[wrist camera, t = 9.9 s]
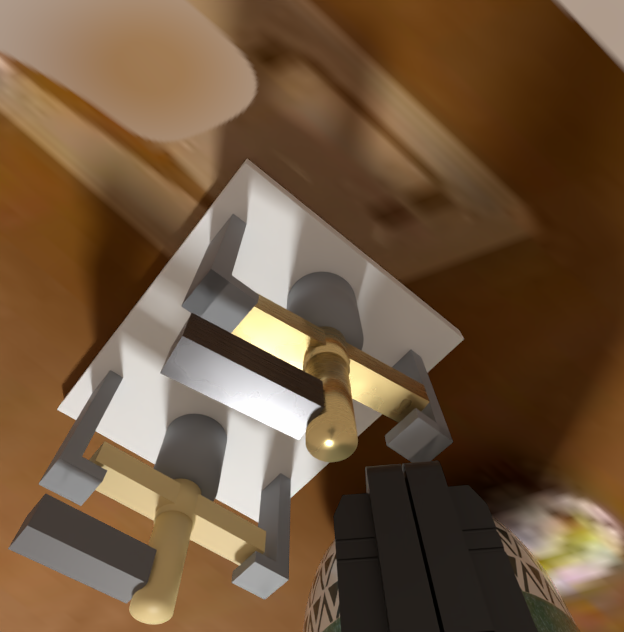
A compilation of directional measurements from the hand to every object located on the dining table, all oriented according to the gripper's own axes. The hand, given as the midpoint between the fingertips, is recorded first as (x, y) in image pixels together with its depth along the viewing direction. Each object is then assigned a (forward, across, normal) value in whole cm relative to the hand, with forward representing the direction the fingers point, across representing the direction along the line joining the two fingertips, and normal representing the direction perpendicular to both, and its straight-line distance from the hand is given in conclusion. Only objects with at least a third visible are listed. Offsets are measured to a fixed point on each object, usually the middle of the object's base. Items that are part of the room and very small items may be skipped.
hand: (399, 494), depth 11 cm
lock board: (+24, +6, +11) cm, 27 cm away
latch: (+17, +2, +6) cm, 19 cm away
